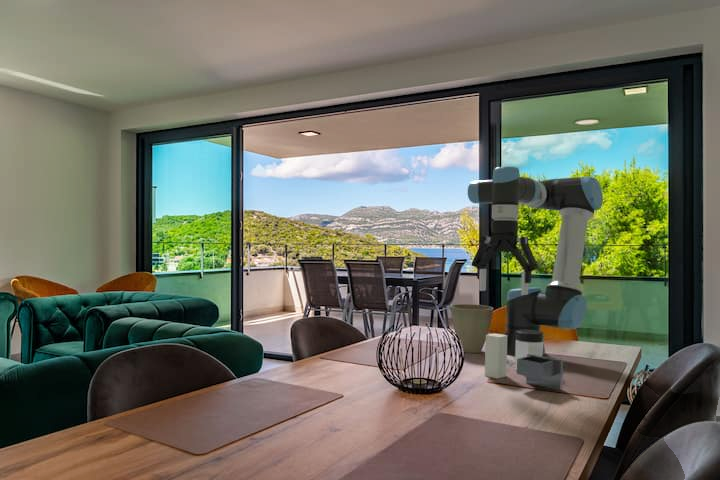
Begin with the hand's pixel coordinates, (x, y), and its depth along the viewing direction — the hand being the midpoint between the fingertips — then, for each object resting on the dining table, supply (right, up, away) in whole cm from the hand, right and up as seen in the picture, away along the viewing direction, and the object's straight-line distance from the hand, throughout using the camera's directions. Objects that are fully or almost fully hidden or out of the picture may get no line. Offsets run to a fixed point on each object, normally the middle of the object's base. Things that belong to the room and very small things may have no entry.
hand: (502, 292), depth 160 cm
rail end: (-2, -25, +1) cm, 25 cm away
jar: (+10, -25, +9) cm, 28 cm away
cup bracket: (+6, -25, -12) cm, 28 cm away
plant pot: (-2, -25, +36) cm, 44 cm away
